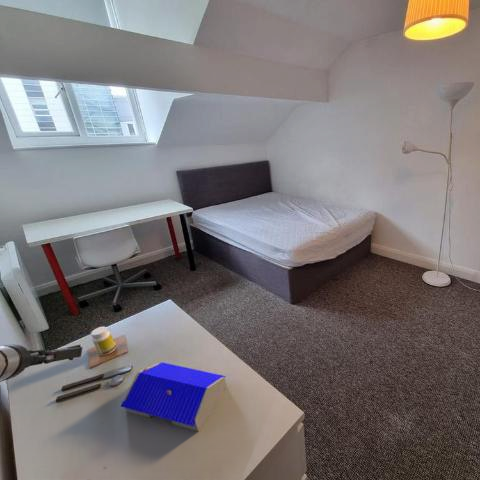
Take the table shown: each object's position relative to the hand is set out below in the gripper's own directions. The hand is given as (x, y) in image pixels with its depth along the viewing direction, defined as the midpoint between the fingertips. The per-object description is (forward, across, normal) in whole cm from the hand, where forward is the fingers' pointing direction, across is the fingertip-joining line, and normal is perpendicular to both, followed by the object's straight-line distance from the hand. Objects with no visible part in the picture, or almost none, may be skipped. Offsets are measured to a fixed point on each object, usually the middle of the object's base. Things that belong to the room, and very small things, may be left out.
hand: (48, 351), depth 77 cm
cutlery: (-1, +13, -10) cm, 16 cm away
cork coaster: (+10, +12, -2) cm, 16 cm away
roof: (-16, +36, -13) cm, 41 cm away
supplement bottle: (+10, +12, -2) cm, 15 cm away
